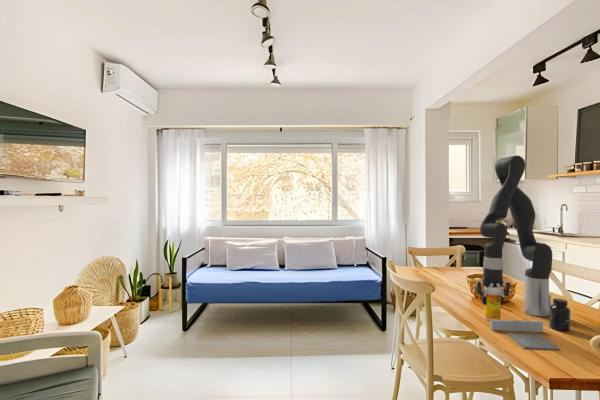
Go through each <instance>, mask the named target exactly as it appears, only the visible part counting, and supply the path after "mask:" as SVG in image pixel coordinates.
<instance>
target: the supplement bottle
mask: <svg viewBox="0 0 600 400" xmlns="http://www.w3.org/2000/svg"><path fill="white" fill-rule="evenodd" d="M549 327H550V328H551V329H552V330H556V331H559V332H569V331H571V309H570V307H568V300H567V299H564V298H553V299H552V304H551V306H550V316H549Z"/></svg>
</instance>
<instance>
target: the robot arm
mask: <svg viewBox="0 0 600 400" xmlns="http://www.w3.org/2000/svg"><path fill="white" fill-rule="evenodd" d="M494 170H495V173H496V176H497V179H498V180H499V183H500V185H501V187H500V189H499V190H498V191H497V192H496V193H495V195H494V196H493V198H492V200H491V204H490V206H489V207H490V208H489V211H488V213H487V214H486V216H485V217H484V219H483V220H482V222H481V224H480V227H479V232H480V234H481V236H482V237H484V238H488V239H489V238H490V239H494V240H493V242H487V243H485V244H484V246H483V247H484V248H483V250H484V251H483V263H482V264H483V268H482V269H483V270H482V271H483V274H482V277H483V279H482V280H476V281H475V288H476V294H478V295H479V296H481V300H480V301H481V304H482V305H484V306H485V305H486V303H487V297H486V295H487V292H489V290H488V289H489V288H490V287H499V288H500V290H501V306H503V305H504V303H505V297H508V296H509V295H510V290H511V283H510V282H509V281H507V280H505V281H504V280H503V278H504V277H503V276H504V275H503V273H504V261H503V249H504V248H503V247H504V244H505V242H506V238H507V235H508V227H507V226H506V224H505V223H503V222H497V221H500V220H504V219H507V216H508V212H509V211H510V214H511V217H512V219H513V222H514V226H515V229H516V234H517V237H518V241H519V249H520V251H521V255H522V256H523V258H524V259H525V260H527V261H530V262H531V263H532V264H531V267H530V268H526V269H525V271H524V274H525V275H524V312H525V313H526V314H528V315H531V316H534V317H540V318H541V317H542V318H543V317H544V318H545V317H550V306H551V305H552V295H551V294H550V274H551V272H552V266H553V264H552V263H553V250H552V248H551V246H550V245H549V244H546V243H543V242H538V241H537V240H536V238H535V235H534V231H533V230H534V229H533V228H534V224H535V220H536V211H535V209H534V208H535V207H534V205H533V201H532V200H531V198H530V197H529V196H528V195H527V194H526V193H525V192H524V191H523V190H521V188H520V187H519V186H518V185H519V183H520V181H521V179H522V177H523V175H524V173H525V170H526V161H525V159H524V158H523V156H521V155H512V156H506V157H505V156H504V157H501V158H498V159H497V160H495V163H494ZM482 286H483V288H482ZM485 287H487V289H485ZM502 287H503V289H502Z"/></svg>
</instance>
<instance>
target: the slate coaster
mask: <svg viewBox="0 0 600 400" xmlns="http://www.w3.org/2000/svg"><path fill="white" fill-rule="evenodd" d="M506 336H508V337H509V338H510V339H511V340H513V341H514V342H515V343H516V344H518V345H519V346H520V347H521V348H523V349H525V350H526V349H528V350H547V351H548V350H549V351H560V347H558V346H557V345H555V344H553V342H551V341H549V340H548V339H547V338H545V337H544V336H542V335H541V334H530V333H508V332H507V333H506Z"/></svg>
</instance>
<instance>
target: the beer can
mask: <svg viewBox="0 0 600 400" xmlns="http://www.w3.org/2000/svg"><path fill="white" fill-rule="evenodd" d="M485 289H487V287H485ZM488 290H489V292H487V295H486V297H487V303H486V305H484V318H485V320H487V321H489V322H490V319H491V320H501V307H502V305H501V290H500V288H499V287H490V288H489V289H488Z"/></svg>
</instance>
